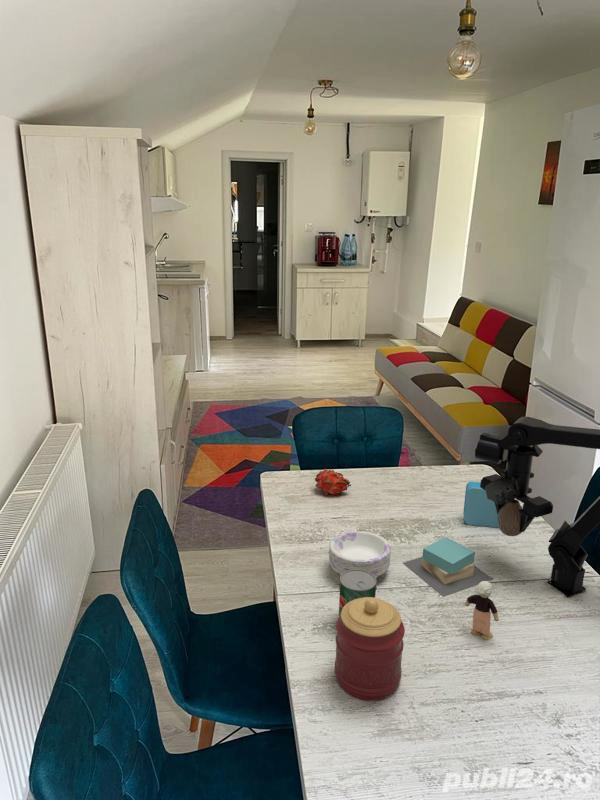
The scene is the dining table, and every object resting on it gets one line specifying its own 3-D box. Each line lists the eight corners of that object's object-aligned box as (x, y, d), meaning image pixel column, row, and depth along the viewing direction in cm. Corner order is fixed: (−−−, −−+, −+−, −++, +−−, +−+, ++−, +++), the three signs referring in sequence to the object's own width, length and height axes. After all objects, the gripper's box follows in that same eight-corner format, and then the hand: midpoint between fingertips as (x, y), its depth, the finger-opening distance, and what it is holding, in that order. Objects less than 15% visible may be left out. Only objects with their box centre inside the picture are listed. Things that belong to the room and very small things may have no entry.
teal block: (473, 562, 152) (475, 551, 151) (451, 574, 146) (452, 564, 145) (444, 547, 158) (445, 536, 157) (422, 558, 153) (423, 548, 152)
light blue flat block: (504, 521, 179) (509, 484, 175) (506, 529, 175) (511, 491, 171) (462, 517, 181) (466, 480, 178) (463, 524, 177) (467, 487, 173)
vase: (495, 536, 151) (499, 505, 148) (495, 523, 157) (499, 493, 155) (525, 541, 149) (529, 509, 146) (524, 528, 155) (528, 497, 153)
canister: (358, 645, 127) (362, 572, 122) (413, 674, 120) (419, 597, 114) (320, 680, 118) (323, 602, 112) (377, 714, 110) (382, 632, 105)
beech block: (473, 575, 151) (474, 564, 150) (444, 584, 147) (446, 574, 146) (448, 557, 159) (449, 547, 158) (421, 566, 155) (422, 556, 154)
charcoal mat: (493, 580, 150) (493, 579, 150) (443, 598, 143) (443, 596, 143) (450, 549, 164) (450, 548, 163) (402, 564, 156) (402, 562, 156)
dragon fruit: (312, 493, 199) (347, 503, 196) (308, 488, 191) (345, 498, 188) (319, 468, 201) (354, 478, 198) (316, 462, 193) (352, 472, 190)
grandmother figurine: (499, 633, 131) (505, 583, 127) (494, 644, 128) (501, 592, 124) (464, 621, 135) (469, 572, 131) (459, 631, 132) (464, 581, 128)
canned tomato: (332, 615, 137) (334, 572, 133) (364, 607, 139) (366, 566, 136) (347, 637, 130) (349, 593, 126) (380, 629, 132) (383, 585, 129)
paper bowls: (345, 550, 163) (346, 523, 160) (398, 567, 155) (400, 539, 153) (317, 578, 150) (318, 550, 148) (373, 598, 143) (375, 568, 140)
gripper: (466, 460, 152) (461, 515, 157) (524, 489, 136) (515, 550, 141) (499, 452, 157) (493, 507, 162) (558, 480, 141) (549, 539, 146)
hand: (511, 525), depth 152 cm, fingers closed on vase, 7 cm apart
